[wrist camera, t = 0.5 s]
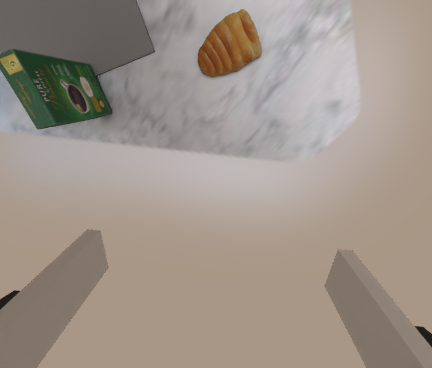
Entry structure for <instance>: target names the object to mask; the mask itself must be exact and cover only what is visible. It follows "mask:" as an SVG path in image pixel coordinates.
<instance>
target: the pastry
mask: <svg viewBox="0 0 432 368" xmlns="http://www.w3.org/2000/svg"><path fill="white" fill-rule="evenodd" d="M261 53H262V47H261V44H260V41H259V37H258V34H257V31H256V28H255V25H254V22H253V21H252V20H251V17H250V15H249V14H248V12H246V11H245V10H244V9H242V10H240V11H239V12H236V13H232V14H230V15H228V16H226V17H225V18H224V19H223V20H222V21H221V22H220V23H218V24H217V25H216V26H215V27H214V29H213V30H212V31H211V32H210V34H209V35H208V37H207V38H206V40H205V42H204V44H203V45H202V47H201V48H200V49H199V53H198V64H199V66H200V68H201V71H202V72H203V73H204V74H206V75H209V76H211V77H214V76H217V75H225V74H228V73H230V72H234V71H239V70H240V69H241V67H242V66H244V65H246V64H247V63H249V62H251V61H253V60H254V59H255V58H259V57H260V56H261Z"/></svg>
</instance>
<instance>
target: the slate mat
mask: <svg viewBox="0 0 432 368" xmlns="http://www.w3.org/2000/svg"><path fill="white" fill-rule="evenodd" d="M9 49H17V50H22V51H27V52H32V53H37V54H42V55H47V56H52V57H57V58H61V59H66V60H71V61H76V62H82V63H87V64H90V66H91V68H92V70H93V72H94V74H95V76H98V75H100V74H103V73H105V72H107V71H110V70H112V69H115V68H117V67H119V66H122V65H124V64H127V63H129V62H132V61H134V60H136V59H139V58H141V57H144V56H146V55H148V54H151V53H153V52H155V50H154V48H153V45H152V42H151V40H150V37H149V34H148V31H147V29H146V26H145V23H144V20H143V18H142V15H141V12H140V10H139V7H138V4H137V1H136V0H0V53H3V52H5V51H7V50H9Z"/></svg>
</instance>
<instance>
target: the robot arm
mask: <svg viewBox="0 0 432 368" xmlns="http://www.w3.org/2000/svg"><path fill="white" fill-rule="evenodd" d="M107 269H108V263H107V259H106V254H105V249H104V245H103V240H102V236H101V231H98V230H86V231H85V232H84V233H83V234H82V235H81V236H80V237H79V238H78V239H76V240H75V241H74V242H73V243H72V244H71V245H70V246H69V247H68V248H67V249H66V250H65V251H63V253H61V254H60V255H59V256H58V257H57V258H56V259H55V260H54V261H53V262H52V263H50V264H49V265H48V266H47V267H46V268H45V269H44V270H43V271H42V272H41V273H40V274H39V275H37V276H36V277H35V278H34V279H33V280H32V281H31V282H30V283H29V284H28V285H27V286H25V287H24V288H23V289H22V290H21V291H13V292H11V293H10V294H8V295H6V296H5V297H3V298H2V299H0V368H37V367H38V365H39V364H40V362H41V361H42V360H43V358H44V357H45V356H46V354H47V353H48V351H49V350H50V349H51V347H52V346H53V344H54V343H55V342H56V340H57V339H58V337H59V336H60V334H61V333H62V332H63V330H64V329H65V328H66V326H67V325H68V323H69V322H70V321H71V319H72V318H73V316H74V315H75V313H76V312H77V311H78V309H79V308H80V307H81V305H82V304H83V302H84V301H85V300H86V298H87V297H88V295H89V294H90V293H91V291H92V290H93V288H94V287H95V286H96V284H97V283H98V281H99V280H100V279H101V277H102V276H103V274H104V273H105V272H106V270H107ZM325 287H326V290H327V292H328V293H329V295H330V297H331V299H332V301H333V303H334V305H335V307H336V309H337V311H338V313H339V315H340V317H341V319H342V321H343V323H344V325H345V327H346V329H347V331H348V332H349V335H350V337H351V338H352V340H353V342H354V344H355V346H356V348H357V350H358V352H359V354H360V356H361V358H362V360H363V362H364V364H365V366H366V368H432V334H431V333H430V332H429V331H427V330H426V329H425V328H424V327H418V326H414V325H413V324H412V323H411V322H410V321H409V319H408V318H407V317H406V315H405V314H404V313H403V312H402V310H401V309H400V308H399V307H398V306H397V305H396V303H395V302H394V301H393V299H392V298H391V297H390V296H389V295H388V293H387V292H386V291H385V290H384V289H383V287H382V286H381V285H380V284H379V282H378V281H377V280H376V279H375V277H374V276H373V275H372V274H371V272H370V271H369V270H368V269H367V268H366V266H365V265H364V264H363V263H362V261H361V260H360V259H359V258H358V257H357V255H356V254H355V253H354V252H353V251H352V250H340V249H338V251H337V254H336V256H335V259H334V262H333V265H332V267H331V270H330V273H329V275H328V278H327V281H326V284H325Z"/></svg>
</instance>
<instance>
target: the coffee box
mask: <svg viewBox="0 0 432 368" xmlns="http://www.w3.org/2000/svg"><path fill="white" fill-rule="evenodd" d="M0 69H1V71H2V73H3V74H4V76H5V78H6V79H7V81H8V82H9V84H10V86H11V87H12V89H13V90H14V92H15V94H16V95H17V97H18V99H19V100H20V102H21V104H22V105H23V107H24V108H25V110H26V112H27V113H28V115H29V116H30V118H31V120H32V121H33V123H34V125H35V126H36V128H37V129H43V128H48V127H54V126H60V125H65V124H70V123H75V122H80V121H86V120H90V119H95V118H99V117H102V116H105V115H109V114H111V113H112V111H111V109H110V107H109V104H108V102H107V100H106V98H105V96H104V94H103V92H102V90H101V87H100V85H99V83H98V81H97V78H96V76H95V74H94V72H93V70H92V68H91V66H90V64H87V63H82V62H76V61H71V60H66V59H61V58H57V57H52V56H47V55H42V54H37V53H32V52H27V51H22V50H17V49H9V50H7V51H5V52H3V53H1V54H0Z"/></svg>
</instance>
